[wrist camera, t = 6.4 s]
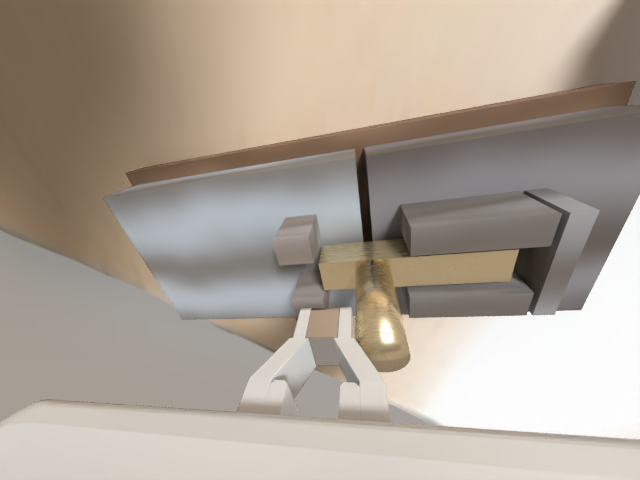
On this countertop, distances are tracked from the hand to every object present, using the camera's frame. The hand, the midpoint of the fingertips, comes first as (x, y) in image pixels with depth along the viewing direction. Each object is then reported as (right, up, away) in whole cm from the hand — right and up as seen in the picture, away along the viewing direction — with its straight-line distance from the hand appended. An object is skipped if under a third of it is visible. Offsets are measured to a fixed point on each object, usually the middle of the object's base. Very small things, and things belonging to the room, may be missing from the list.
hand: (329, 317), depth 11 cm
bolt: (+5, +3, +4) cm, 7 cm away
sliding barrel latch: (+1, +5, +9) cm, 11 cm away
